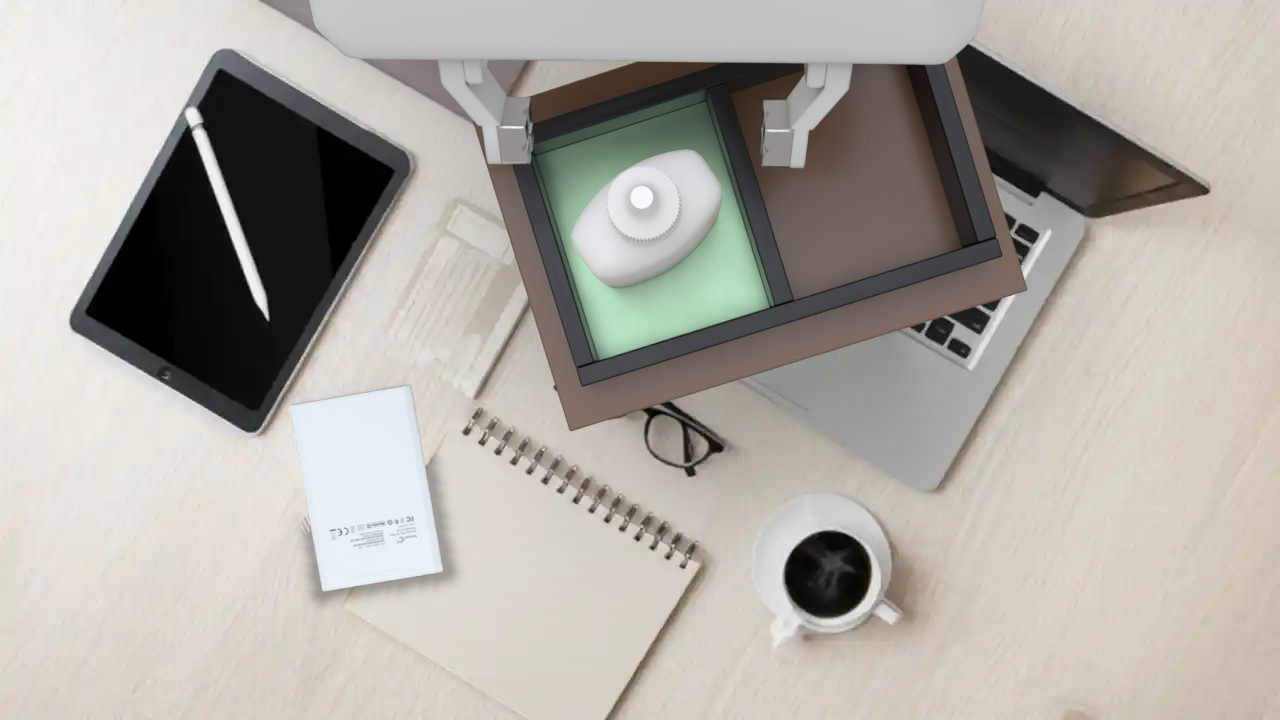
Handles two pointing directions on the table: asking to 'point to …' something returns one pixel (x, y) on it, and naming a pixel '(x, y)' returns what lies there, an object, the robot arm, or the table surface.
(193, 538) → the table surface
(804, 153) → the robot arm
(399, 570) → the hard drive
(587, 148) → the brown compartment tray
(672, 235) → the eye dropper bottle
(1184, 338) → the table surface
